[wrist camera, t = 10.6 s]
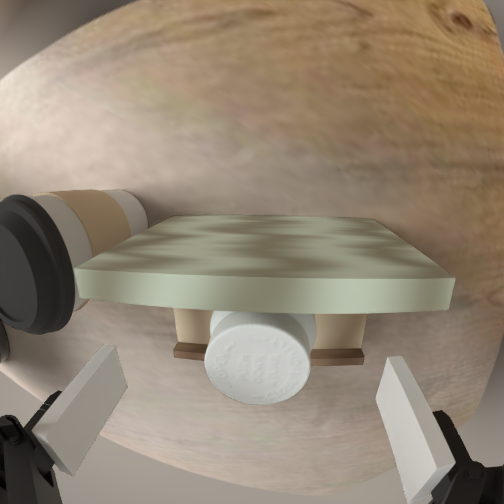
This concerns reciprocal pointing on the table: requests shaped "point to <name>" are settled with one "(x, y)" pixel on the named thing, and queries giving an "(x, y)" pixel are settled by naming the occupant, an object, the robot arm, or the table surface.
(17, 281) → the coffee cup
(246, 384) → the pill bottle
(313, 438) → the table surface
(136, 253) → the wooden l-shaped piece
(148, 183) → the table surface
